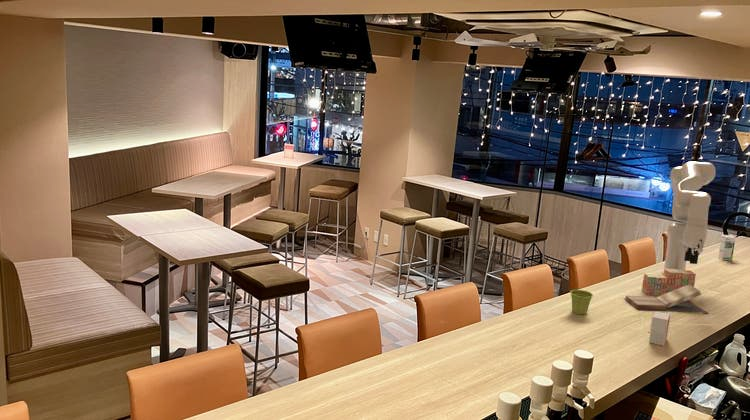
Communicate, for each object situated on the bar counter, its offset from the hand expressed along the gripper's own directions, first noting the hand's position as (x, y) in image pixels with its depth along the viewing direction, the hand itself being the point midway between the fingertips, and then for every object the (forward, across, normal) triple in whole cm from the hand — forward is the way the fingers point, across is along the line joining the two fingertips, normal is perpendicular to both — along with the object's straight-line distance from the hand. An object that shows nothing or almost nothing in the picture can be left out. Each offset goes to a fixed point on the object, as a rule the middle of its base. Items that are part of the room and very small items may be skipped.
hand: (690, 261), depth 264 cm
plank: (+17, 0, -3) cm, 17 cm away
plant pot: (+22, +11, -52) cm, 57 cm away
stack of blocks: (+22, -17, +1) cm, 28 cm away
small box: (+22, +40, -32) cm, 56 cm away
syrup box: (+21, -88, +73) cm, 116 cm away
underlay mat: (+21, 0, -9) cm, 23 cm away
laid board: (+21, 0, -18) cm, 27 cm away
